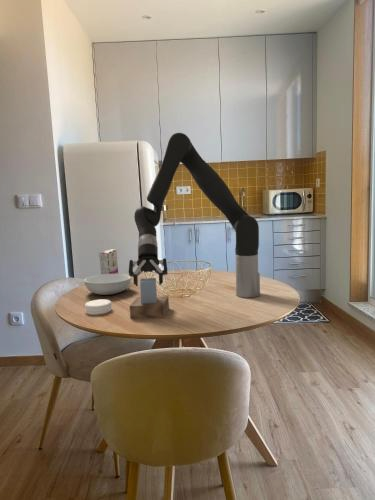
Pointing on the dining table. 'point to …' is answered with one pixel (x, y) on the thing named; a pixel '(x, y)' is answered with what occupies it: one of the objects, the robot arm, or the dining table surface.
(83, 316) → the dining table surface
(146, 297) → the slate-blue block
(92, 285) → the serving bowl
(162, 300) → the walnut block
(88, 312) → the white round disc
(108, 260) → the candy bar box
